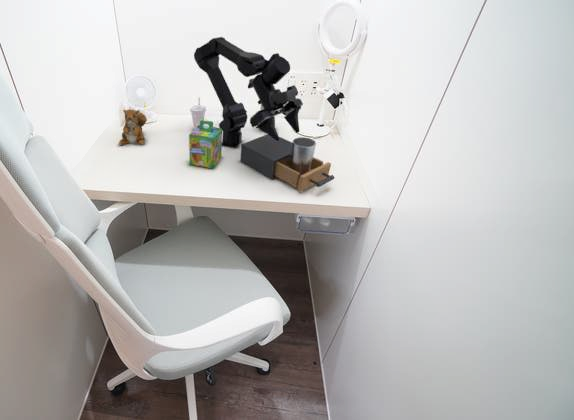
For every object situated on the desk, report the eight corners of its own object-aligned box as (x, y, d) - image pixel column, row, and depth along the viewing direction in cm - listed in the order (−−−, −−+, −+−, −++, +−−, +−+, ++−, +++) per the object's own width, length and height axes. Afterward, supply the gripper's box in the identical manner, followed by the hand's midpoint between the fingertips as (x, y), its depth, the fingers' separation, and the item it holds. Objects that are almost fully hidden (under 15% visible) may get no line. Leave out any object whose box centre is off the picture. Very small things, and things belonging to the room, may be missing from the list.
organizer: (301, 165, 112) (304, 147, 107) (271, 179, 105) (274, 161, 101) (268, 150, 122) (270, 132, 118) (240, 161, 115) (241, 144, 111)
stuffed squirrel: (118, 146, 128) (112, 114, 120) (128, 131, 139) (123, 101, 131) (142, 147, 127) (138, 114, 119) (151, 132, 138) (147, 101, 130)
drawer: (338, 182, 101) (342, 168, 98) (311, 197, 95) (314, 183, 92) (293, 160, 113) (295, 147, 110) (266, 172, 107) (267, 159, 104)
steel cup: (285, 176, 103) (290, 144, 96) (290, 166, 108) (295, 135, 101) (307, 180, 101) (313, 148, 94) (311, 170, 105) (318, 139, 99)
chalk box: (189, 165, 114) (187, 125, 105) (198, 153, 121) (197, 115, 112) (213, 169, 111) (213, 129, 102) (222, 157, 118) (222, 118, 109)
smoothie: (205, 133, 135) (204, 100, 126) (190, 133, 136) (188, 100, 127) (206, 127, 140) (206, 95, 131) (192, 127, 141) (190, 94, 132)
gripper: (259, 83, 91) (284, 133, 90) (303, 71, 99) (326, 116, 99) (239, 104, 101) (261, 148, 100) (280, 91, 109) (301, 132, 109)
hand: (288, 136), depth 102 cm, fingers open, 9 cm apart
